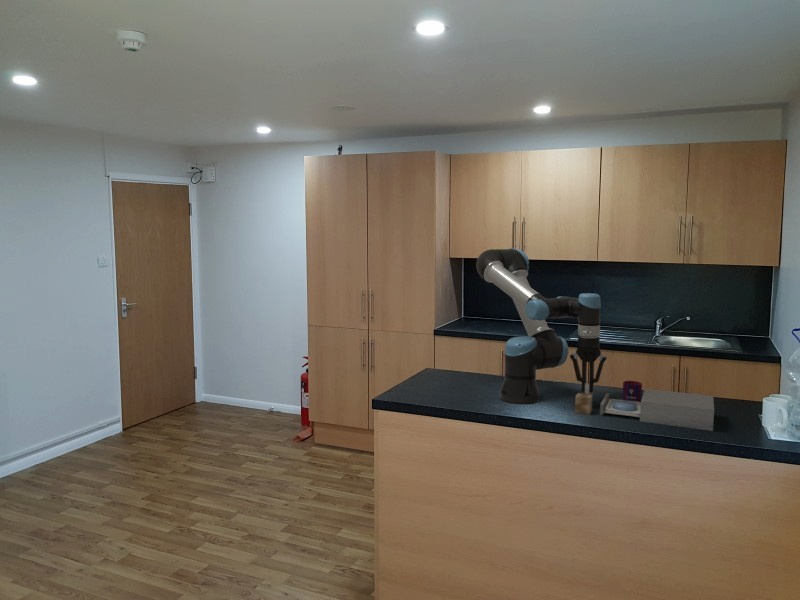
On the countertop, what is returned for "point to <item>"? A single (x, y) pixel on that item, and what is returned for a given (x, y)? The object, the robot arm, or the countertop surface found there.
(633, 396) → the mug
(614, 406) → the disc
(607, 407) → the tray
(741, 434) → the countertop surface
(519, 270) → the robot arm
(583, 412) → the block
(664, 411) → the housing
